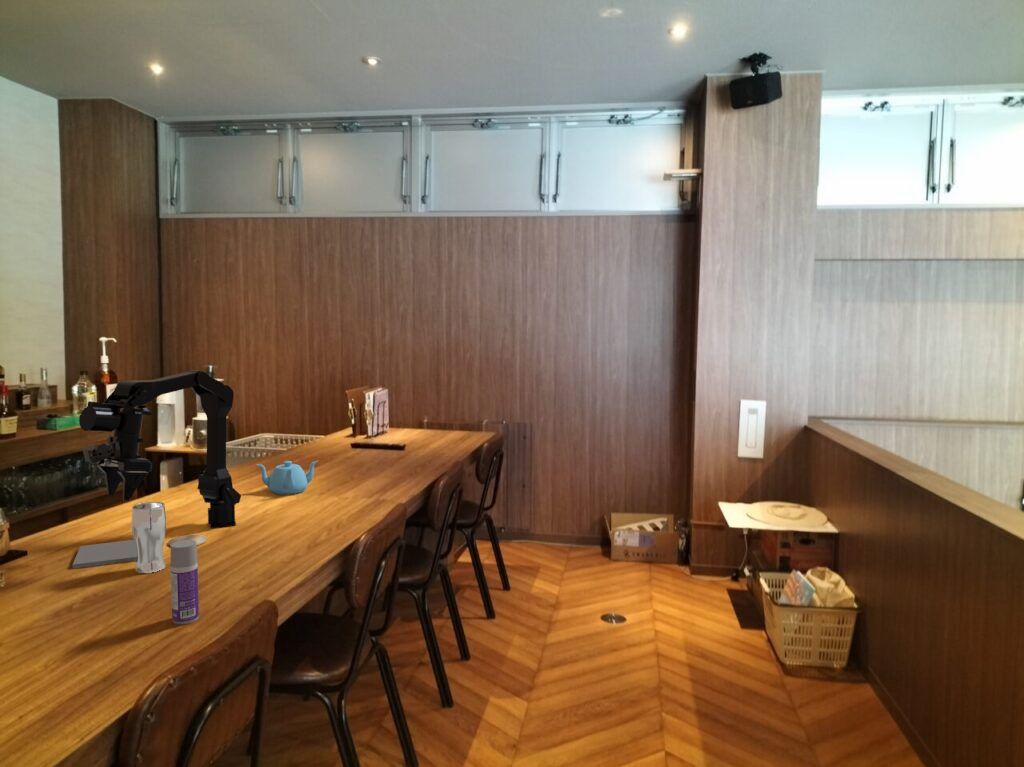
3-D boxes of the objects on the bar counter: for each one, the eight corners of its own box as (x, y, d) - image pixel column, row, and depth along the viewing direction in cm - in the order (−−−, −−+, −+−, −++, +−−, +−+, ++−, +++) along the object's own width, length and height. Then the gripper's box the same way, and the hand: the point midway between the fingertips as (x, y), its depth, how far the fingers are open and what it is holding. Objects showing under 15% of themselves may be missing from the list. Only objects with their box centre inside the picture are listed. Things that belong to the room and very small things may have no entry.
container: (203, 613, 131) (201, 539, 130) (192, 624, 127) (190, 547, 125) (179, 613, 131) (176, 539, 130) (167, 624, 127) (165, 547, 125)
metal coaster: (206, 534, 179) (206, 533, 179) (207, 545, 171) (207, 543, 171) (168, 539, 175) (168, 537, 175) (168, 549, 167) (168, 547, 167)
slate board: (144, 542, 172) (144, 538, 172) (142, 560, 160) (142, 556, 160) (80, 549, 166) (80, 546, 166) (72, 568, 153) (72, 564, 153)
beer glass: (129, 575, 150) (127, 510, 149) (138, 564, 157) (135, 502, 155) (163, 573, 152) (161, 508, 151) (170, 562, 159) (168, 500, 157)
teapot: (288, 484, 236) (287, 455, 235) (321, 489, 230) (320, 459, 229) (256, 493, 223) (255, 463, 222) (290, 499, 216) (289, 467, 215)
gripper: (75, 428, 160) (66, 493, 159) (105, 433, 149) (95, 504, 147) (125, 431, 169) (116, 492, 168) (157, 436, 157) (148, 503, 156)
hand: (118, 497), depth 159 cm, fingers open, 9 cm apart
